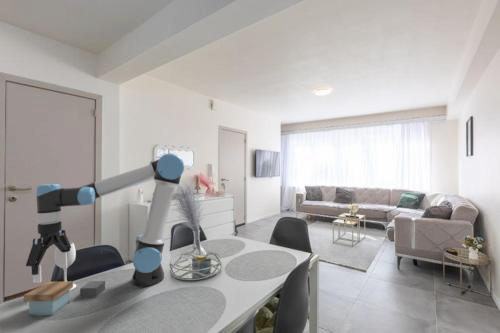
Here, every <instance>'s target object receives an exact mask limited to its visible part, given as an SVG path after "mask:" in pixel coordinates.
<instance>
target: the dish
mask: <svg viewBox="0 0 500 333" xmlns="http://www.w3.org/2000/svg"><path fill="white" fill-rule="evenodd" d="M69 303H70V291H69V290H68V291H67V292H65V293H64V294H63V295H61V296H60V297H58V298H57V299H55V300H54V301H28V316H29V315H36V316H54V315H55V314H56V313H58V312H59V311H60V310H62V309H63V308H64V307H65V306H67V305H68V304H69Z"/></svg>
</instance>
